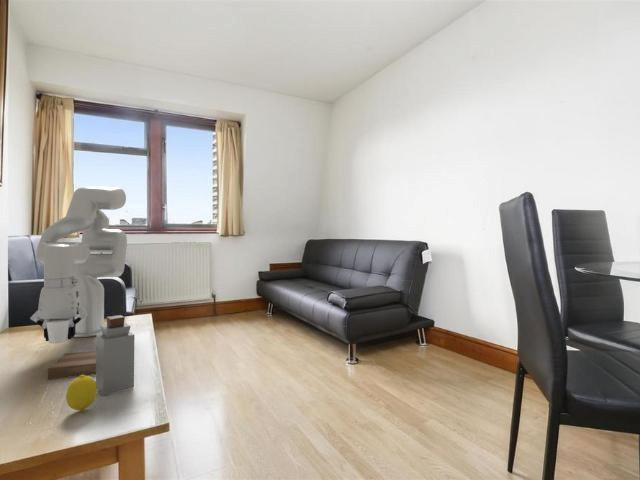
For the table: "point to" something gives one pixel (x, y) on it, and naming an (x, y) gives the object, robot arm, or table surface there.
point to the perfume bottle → (114, 357)
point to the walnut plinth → (73, 365)
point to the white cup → (58, 330)
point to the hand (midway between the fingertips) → (60, 338)
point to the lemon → (81, 393)
